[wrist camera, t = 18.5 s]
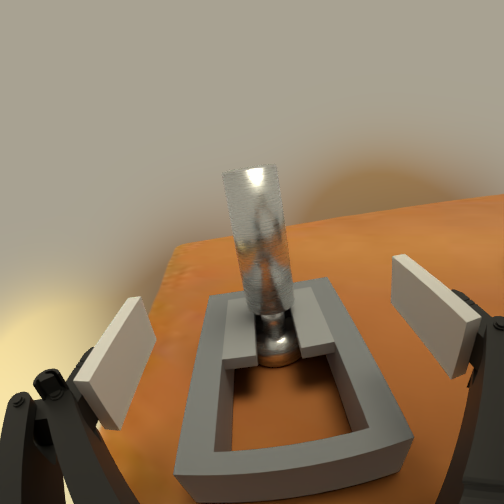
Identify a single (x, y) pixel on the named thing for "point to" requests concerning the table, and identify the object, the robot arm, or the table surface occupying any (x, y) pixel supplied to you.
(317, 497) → the table surface
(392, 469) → the keyhole plate
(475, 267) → the table surface
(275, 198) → the steel peg
